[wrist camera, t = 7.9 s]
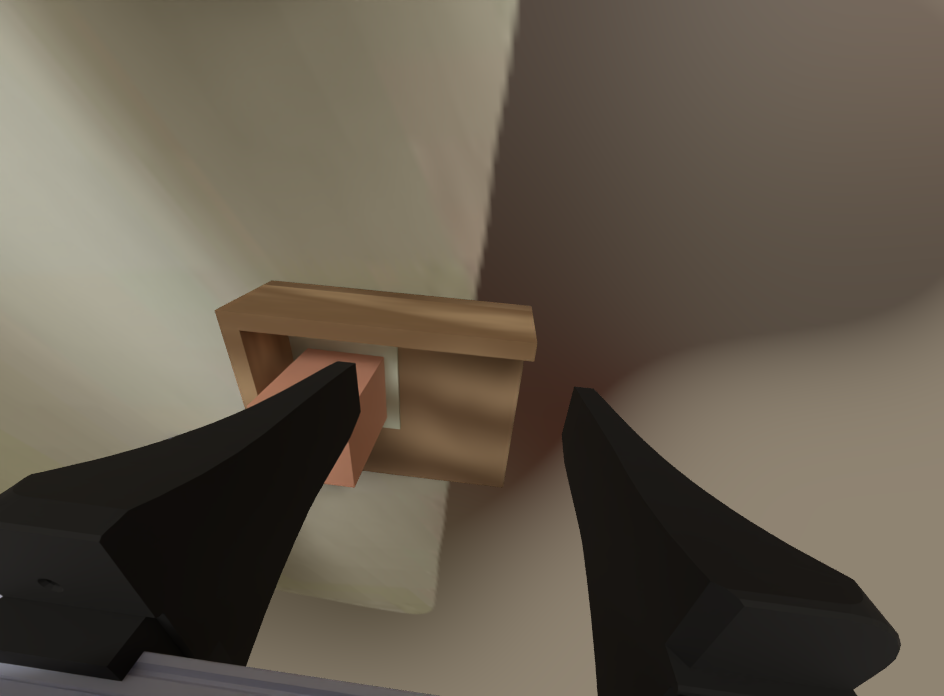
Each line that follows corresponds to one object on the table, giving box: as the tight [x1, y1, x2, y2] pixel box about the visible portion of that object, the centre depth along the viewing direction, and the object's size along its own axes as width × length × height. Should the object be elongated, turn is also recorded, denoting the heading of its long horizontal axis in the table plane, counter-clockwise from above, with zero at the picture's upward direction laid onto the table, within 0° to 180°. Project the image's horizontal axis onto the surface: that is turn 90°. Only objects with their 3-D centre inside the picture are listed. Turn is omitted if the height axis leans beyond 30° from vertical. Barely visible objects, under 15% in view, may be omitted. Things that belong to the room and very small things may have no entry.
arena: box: [215, 281, 537, 488], centre depth 23 cm, size 15×16×5 cm
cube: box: [247, 348, 387, 488], centre depth 21 cm, size 5×5×6 cm
